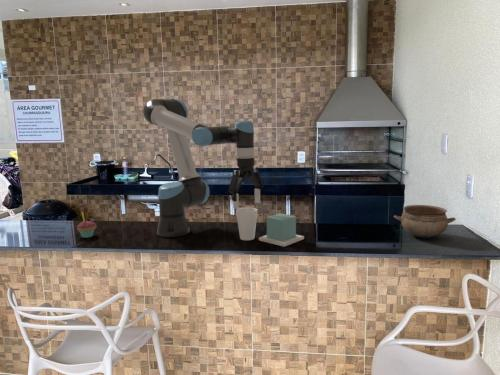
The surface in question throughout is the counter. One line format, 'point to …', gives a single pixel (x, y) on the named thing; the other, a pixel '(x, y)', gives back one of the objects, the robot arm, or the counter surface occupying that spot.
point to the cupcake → (86, 228)
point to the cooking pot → (424, 220)
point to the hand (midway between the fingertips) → (247, 205)
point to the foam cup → (247, 222)
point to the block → (281, 226)
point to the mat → (281, 243)
